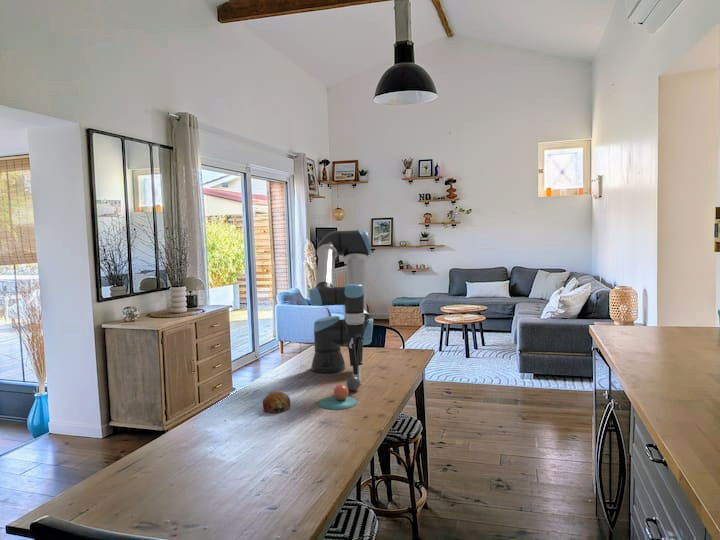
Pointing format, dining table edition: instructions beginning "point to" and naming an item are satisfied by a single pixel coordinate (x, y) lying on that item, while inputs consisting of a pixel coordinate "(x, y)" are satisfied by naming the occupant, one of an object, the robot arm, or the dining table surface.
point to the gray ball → (353, 383)
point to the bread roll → (276, 402)
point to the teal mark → (337, 403)
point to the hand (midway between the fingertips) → (356, 381)
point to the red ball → (341, 392)
